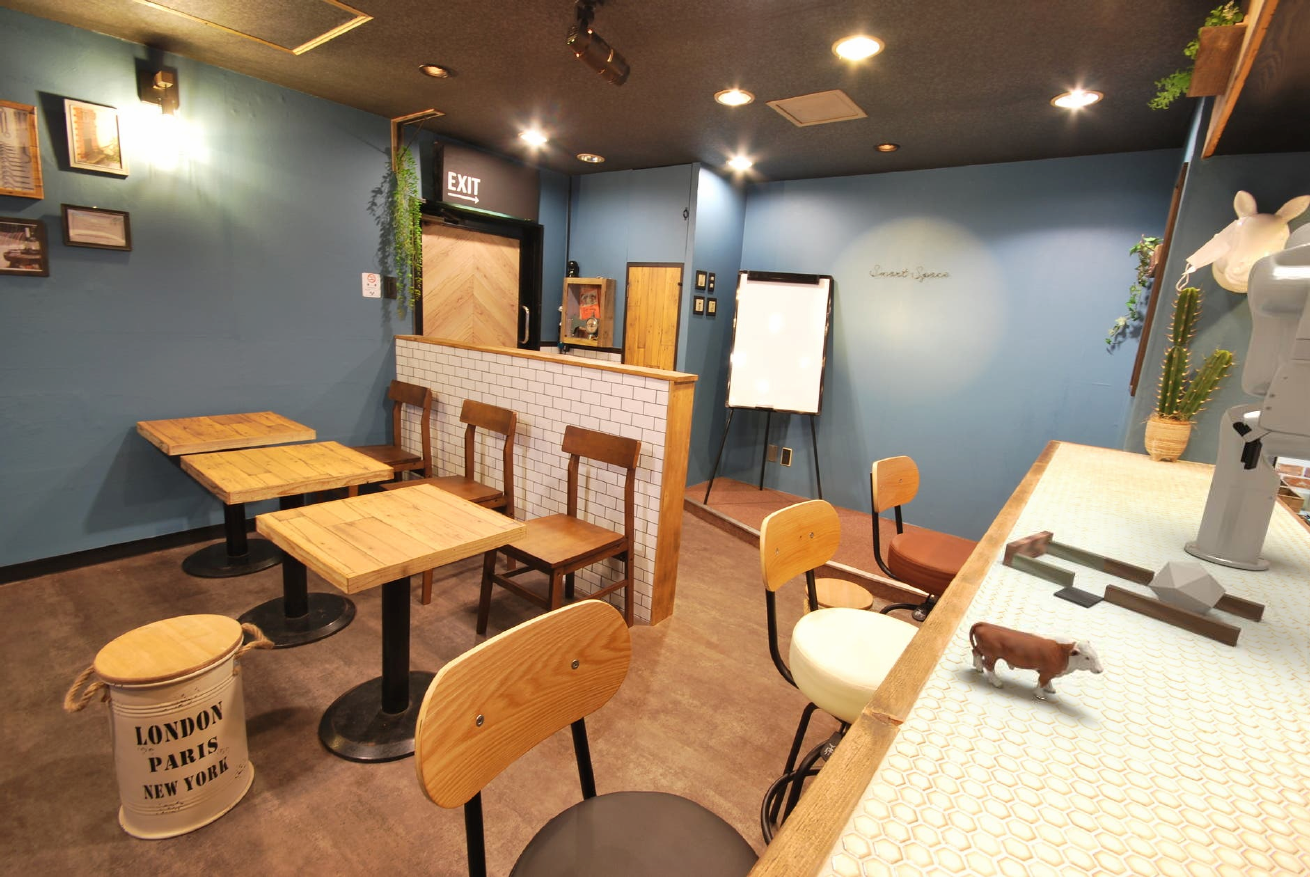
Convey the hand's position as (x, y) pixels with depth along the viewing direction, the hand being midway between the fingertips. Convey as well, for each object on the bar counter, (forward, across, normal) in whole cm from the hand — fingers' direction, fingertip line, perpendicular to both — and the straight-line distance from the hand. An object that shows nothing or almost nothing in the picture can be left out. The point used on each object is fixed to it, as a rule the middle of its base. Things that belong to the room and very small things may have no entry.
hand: (1296, 477), depth 83 cm
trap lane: (+25, +17, -1) cm, 30 cm away
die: (+25, +9, -1) cm, 26 cm away
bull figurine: (+25, +10, +46) cm, 53 cm away
